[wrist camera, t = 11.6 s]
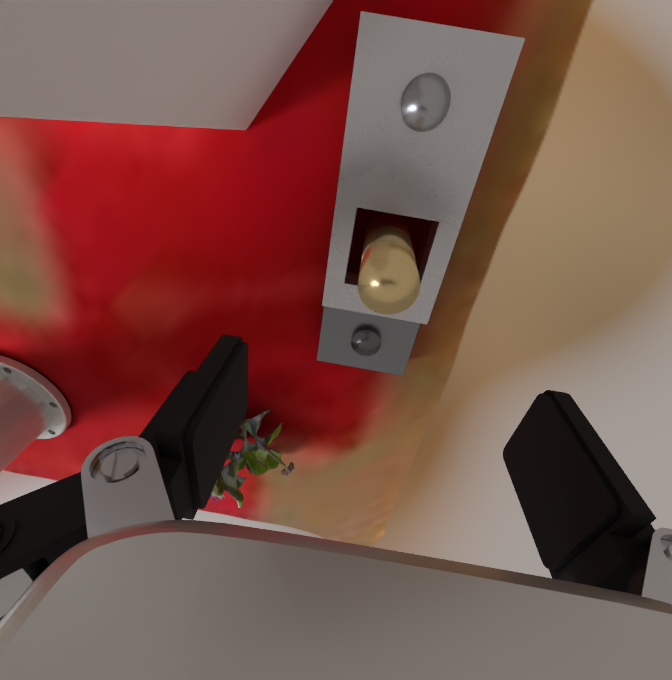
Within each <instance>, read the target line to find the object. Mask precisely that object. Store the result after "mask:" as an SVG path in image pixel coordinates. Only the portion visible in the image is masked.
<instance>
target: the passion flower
mask: <svg viewBox="0 0 672 680" xmlns="http://www.w3.org/2000/svg"><path fill="white" fill-rule="evenodd" d="M270 411H271V410H270V409H268V410H267V411H265V412H263V413H261V414H260V415H257V416H255V417H253V418H251V419H246V418H245V419H243V422H242V424H241V426H240V427H241V429H242V430H241V431H240V432H239V433H238V434H237V435H236V438H235V439H237V438H238V437H242V438H243V440H244V443H243V447H242V449H241V450H240V451H239V452H231V451H230V452H229V454H228V456H227V458H226V460H227V459H231V461H230V462H229V463H228V464H227V465H226V466H223V468H222V470H221V472H220V475H219V477H218V479H217V481H216V484H215V486H214V488H213V491H212V493H211V495H210V496H212V497H213V498H214V500H215V501H217V500H216V497H215V496H218V497H219V498H220V499H222V497H223V498H224V495H223V491H224V490H225V491H226V492H228V493H230V494H231V495H232V497H233V498H235V499H236V500H237V503H238V508H240V507H242V505H243V495H242V493H241V492H240V491H239V489H238V488H239V487H241V485H242V484H243V482H244V481H245V479H246V478H243V477H242V478H241V477H239V476H238V475H237V473H238V470H239V471H240V470H241V469H243V468H244V467H245V466H247V469H248V470H250V474H253V473H255V475H261V474H263V473H265V472H266V471H268V470H269V469H275V468H277V467H278V465H279V463H280V464H281V465H282V466H283V467H285V469H283V470H282V471H281V473H282V474H283V475H284V476H287V475H288V473H290V472H291V471H292V470H293V469H294V464H293V463H290V465H289V466H288V468H287V467H286V465H285V464H284V463H283V462H282V461H281V455H282V453H281V452H278V451H275V450H272V449H269V448H267V445H268V444H270V443H271V441H272V440H273V439H274V438H275V437H277V436H278V434H279V433H280V431H281V428H282V422H281V423H280V424H279V425H278V426H277V428H276V429H275V430H274V431H273V432H272V433H271V434H270V435H269V436H267V437H264V438H259V437H258V436H257V431H258V429H259V427H260V422H261V420H262V418H263V416H264V415H265V414H266V413H268V412H270ZM247 431H248V432H249V433H250V434H252V436H253V437H254V438H255V440H256V444H252V443H249V441H248V440H247Z"/></svg>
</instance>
